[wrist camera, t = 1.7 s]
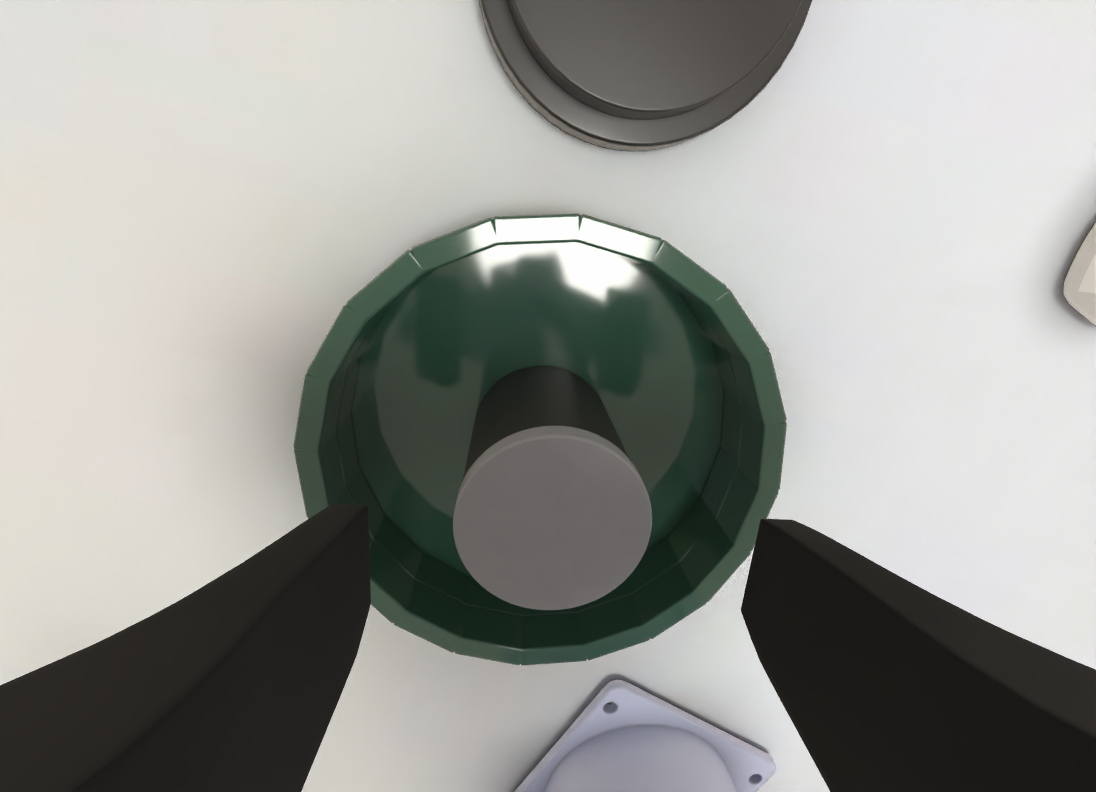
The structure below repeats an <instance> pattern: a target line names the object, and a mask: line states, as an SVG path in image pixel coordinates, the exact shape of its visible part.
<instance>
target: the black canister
mask: <svg viewBox="0 0 1096 792" xmlns="http://www.w3.org/2000/svg"><path fill="white" fill-rule="evenodd" d="M651 528H652V509H651V503H650V499H649V495H648V492H647V490H646V487H645V485H644V483H643V481H642V479H641V477H640V475H639V473H638V471H637V469H636V468H635V466H634V464H633V463H632V462H631V461H630V459H629V457H628V455H627V453H626V451H625V449H624V446H623V444H622V442H621V440H620V438H619V436H618V434H617V432H616V430H615V427H614V425H613V423H612V421H611V419H610V417H609V415H608V413H607V411H606V408H605V406H604V404H603V402H602V400H601V399H600V397H599V395H598V394H597V392H596V391H595V390H594V388H593V387H592V386H591V385H590V384H589V383H588V382H586V381H585V380H584V379H582V378H581V377H580V376H578V375H576V374H574V373H572V372H570V371H567V370H565V369H562V368H558V367H552V366H533V367H527V368H523V369H519V370H517V371H515V372H512V373H510V374H508V375H507V376H505V377H503V378H502V379H500V380H499V381H498V382H496V383H495V384H494V385H493V386H492V387H491V388H490V389H489V391H488V392H487V393H486V395H485V396H484V398H483V399H482V401H481V403H480V405H479V407H478V410H477V413H476V417H475V422H474V427H473V432H472V437H471V442H470V447H469V452H468V457H467V462H466V467H465V472H464V477H463V481H462V484H461V486H460V489H459V492H458V496H457V500H456V505H455V510H454V518H453V533H454V539H455V544H456V548H457V550H458V553H459V556H460V558H461V560H462V562H463V564H464V565H465V567H466V569H467V570H468V571H469V573H470V574H471V575H472V577H473V578H474V579H475V580H476V581H477V582H478V583H479V584H480V585H481V586H482V587H484V588H485V589H486V590H487V591H489V592H490V593H492V594H493V595H495V596H497V597H498V598H500V599H502V600H504V601H507V602H509V603H511V604H514V605H518V606H521V607H525V608H530V609H537V610H561V609H568V608H573V607H577V606H581V605H584V604H587V603H590V602H592V601H595V600H597V599H599V598H601V597H603V596H605V595H606V594H608V593H609V592H611V591H612V590H614V589H615V588H617V587H618V586H619V585H620V584H621V583H622V582H624V581H625V580H626V579H627V577H628V576H629V575H630V574H631V573H632V572H633V571H634V569H635V568H636V566H637V565H638V564H639V562H640V560H641V558H642V557H643V555H644V553H645V550H646V547H647V545H648V542H649V538H650V534H651Z"/></svg>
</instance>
